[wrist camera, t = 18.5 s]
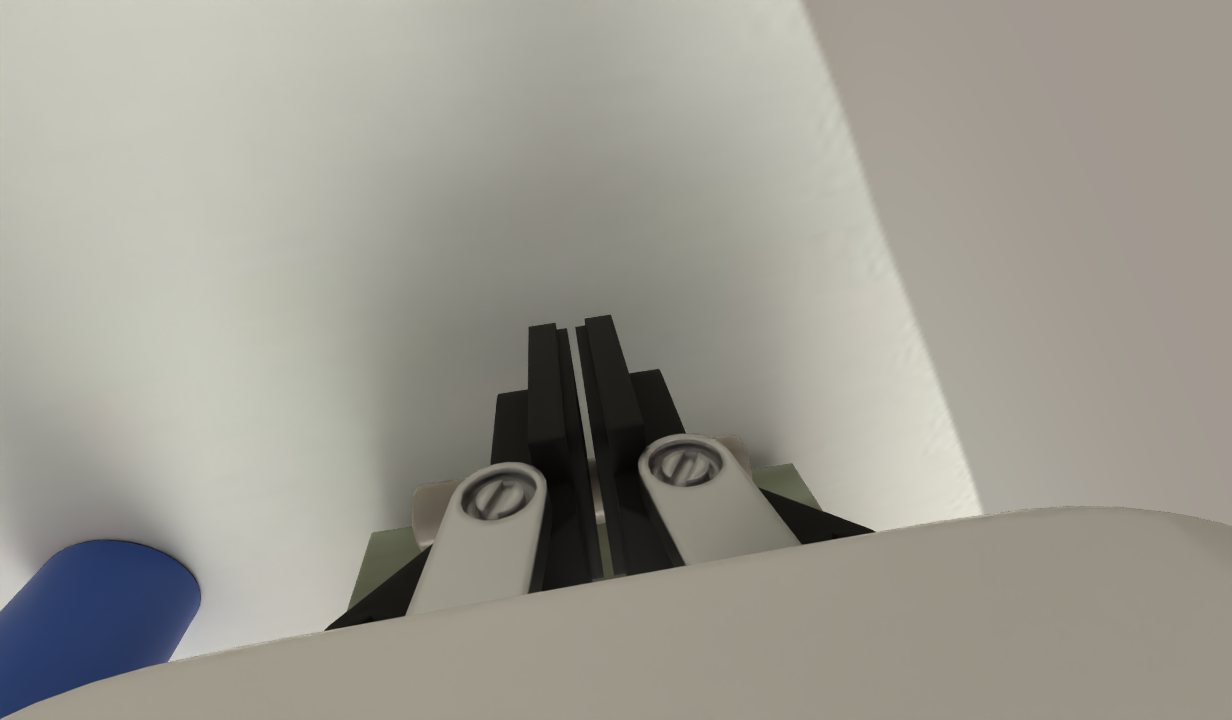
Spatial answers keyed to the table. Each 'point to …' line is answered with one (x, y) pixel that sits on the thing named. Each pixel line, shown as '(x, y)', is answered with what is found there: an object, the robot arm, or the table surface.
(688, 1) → the table surface
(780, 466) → the drawer
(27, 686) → the pill bottle
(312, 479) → the table surface
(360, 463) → the table surface
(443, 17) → the table surface
